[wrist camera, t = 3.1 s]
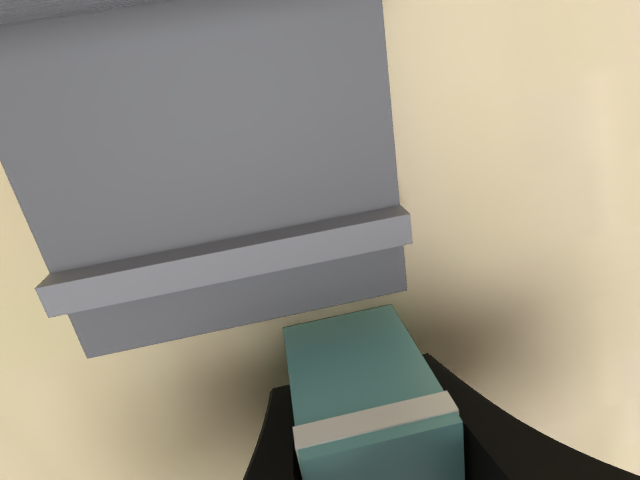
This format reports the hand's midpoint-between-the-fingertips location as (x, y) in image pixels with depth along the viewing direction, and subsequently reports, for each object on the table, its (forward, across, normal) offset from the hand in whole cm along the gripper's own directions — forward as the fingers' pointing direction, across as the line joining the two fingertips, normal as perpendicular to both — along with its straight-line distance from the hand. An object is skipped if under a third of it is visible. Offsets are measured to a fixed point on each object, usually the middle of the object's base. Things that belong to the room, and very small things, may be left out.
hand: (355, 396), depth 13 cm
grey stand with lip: (+1, +2, -8) cm, 8 cm away
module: (+1, 0, 0) cm, 1 cm away
